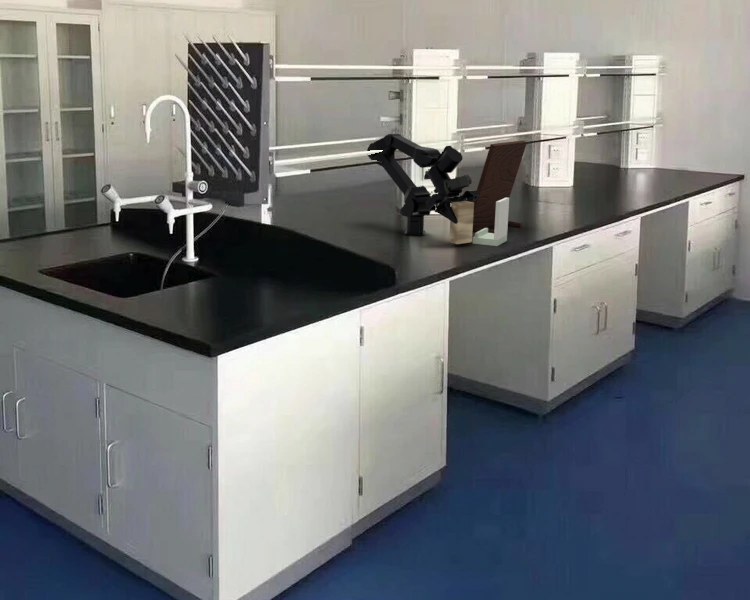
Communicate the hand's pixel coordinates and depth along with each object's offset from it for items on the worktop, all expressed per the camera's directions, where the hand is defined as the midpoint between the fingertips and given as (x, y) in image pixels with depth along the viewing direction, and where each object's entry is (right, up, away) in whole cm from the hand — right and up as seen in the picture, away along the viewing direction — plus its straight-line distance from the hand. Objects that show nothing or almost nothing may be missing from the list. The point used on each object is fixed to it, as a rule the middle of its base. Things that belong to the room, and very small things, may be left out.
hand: (464, 221), depth 282 cm
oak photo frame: (-1, -6, +3) cm, 7 cm away
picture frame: (+13, 0, +31) cm, 34 cm away
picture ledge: (+8, -6, +9) cm, 14 cm away
